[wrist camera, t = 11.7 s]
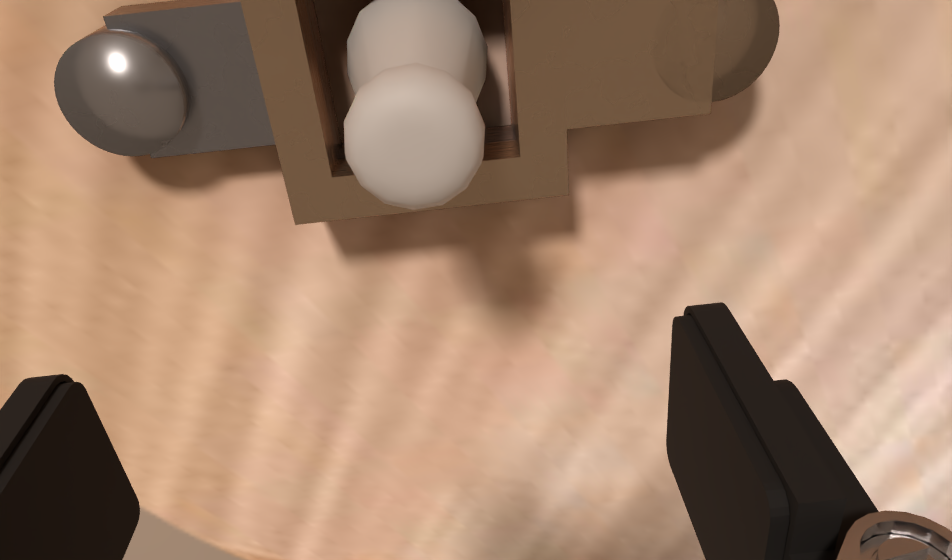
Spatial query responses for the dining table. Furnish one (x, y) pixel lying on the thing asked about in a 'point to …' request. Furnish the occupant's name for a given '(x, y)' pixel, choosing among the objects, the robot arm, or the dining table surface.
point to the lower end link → (183, 82)
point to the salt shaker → (415, 100)
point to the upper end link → (524, 89)
